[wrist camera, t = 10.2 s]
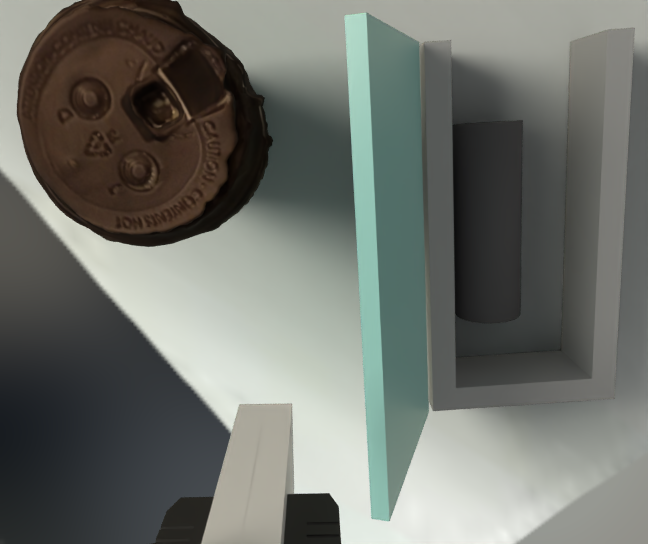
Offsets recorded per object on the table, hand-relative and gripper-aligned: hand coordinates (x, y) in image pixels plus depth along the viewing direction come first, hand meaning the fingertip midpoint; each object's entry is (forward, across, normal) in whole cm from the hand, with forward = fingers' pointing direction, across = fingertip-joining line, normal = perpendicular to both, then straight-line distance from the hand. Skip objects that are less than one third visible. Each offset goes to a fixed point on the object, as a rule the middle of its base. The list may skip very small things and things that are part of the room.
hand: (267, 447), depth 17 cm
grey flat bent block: (+17, +12, +4) cm, 21 cm away
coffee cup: (+17, -4, +9) cm, 20 cm away
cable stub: (+17, +12, +4) cm, 21 cm away
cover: (+9, +5, +3) cm, 11 cm away
